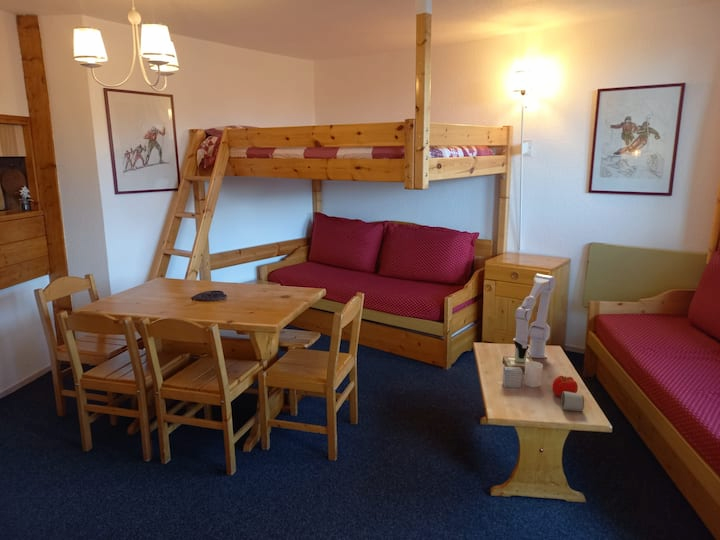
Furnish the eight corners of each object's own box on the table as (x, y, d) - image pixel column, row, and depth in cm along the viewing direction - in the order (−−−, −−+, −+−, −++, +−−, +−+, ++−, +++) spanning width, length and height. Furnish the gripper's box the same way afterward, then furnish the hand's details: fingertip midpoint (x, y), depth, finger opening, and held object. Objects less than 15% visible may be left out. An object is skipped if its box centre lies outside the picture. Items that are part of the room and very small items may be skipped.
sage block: (514, 358, 265) (515, 347, 264) (523, 358, 265) (524, 347, 263) (516, 361, 261) (517, 350, 259) (525, 362, 260) (526, 351, 259)
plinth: (502, 360, 271) (503, 356, 270) (529, 360, 270) (530, 356, 269) (508, 371, 257) (508, 367, 256) (537, 372, 256) (537, 367, 256)
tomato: (581, 400, 227) (583, 381, 225) (559, 402, 226) (560, 383, 224) (568, 389, 238) (569, 372, 236) (546, 391, 236) (547, 373, 234)
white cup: (520, 384, 243) (522, 364, 240) (528, 379, 248) (529, 359, 246) (536, 389, 238) (538, 369, 235) (544, 384, 243) (545, 364, 241)
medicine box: (519, 384, 243) (520, 366, 241) (521, 388, 239) (522, 370, 237) (502, 383, 244) (503, 366, 242) (503, 387, 240) (505, 370, 238)
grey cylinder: (584, 414, 215) (585, 397, 213) (563, 412, 216) (564, 395, 215) (578, 403, 225) (580, 386, 224) (558, 401, 227) (560, 385, 225)
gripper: (510, 326, 266) (509, 350, 269) (517, 335, 252) (515, 361, 255) (524, 326, 266) (522, 351, 269) (531, 336, 252) (530, 362, 255)
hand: (520, 356), depth 262 cm, fingers closed on sage block, 4 cm apart
